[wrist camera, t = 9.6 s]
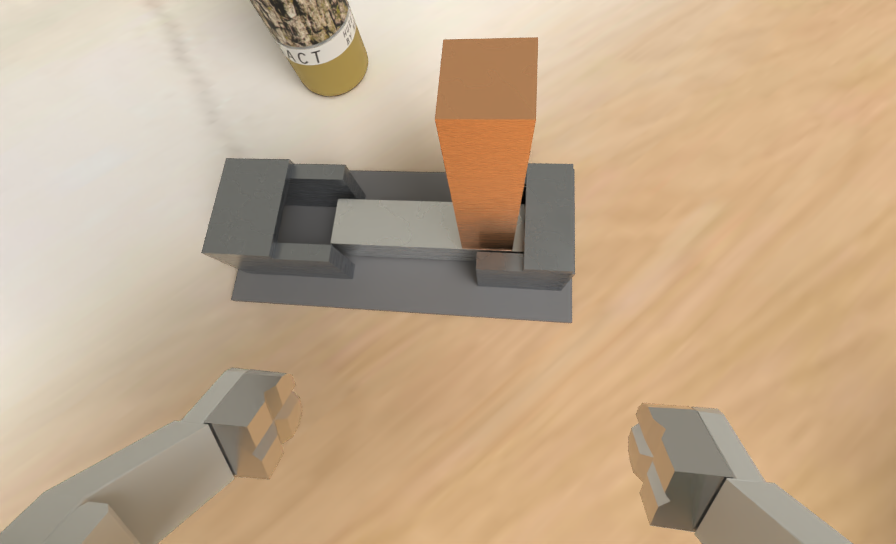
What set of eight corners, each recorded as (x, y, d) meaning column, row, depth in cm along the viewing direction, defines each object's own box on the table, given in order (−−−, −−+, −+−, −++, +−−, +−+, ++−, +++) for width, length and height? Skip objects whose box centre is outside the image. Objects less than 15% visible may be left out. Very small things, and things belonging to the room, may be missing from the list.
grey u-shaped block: (248, 273, 31) (201, 252, 26) (267, 192, 33) (226, 158, 28) (352, 279, 30) (324, 259, 25) (365, 195, 32) (342, 160, 27)
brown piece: (344, 255, 31) (184, 119, 15) (351, 213, 32) (207, 44, 16) (533, 264, 29) (588, 120, 13) (534, 220, 30) (587, 35, 14)
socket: (478, 286, 29) (475, 266, 24) (483, 198, 31) (482, 162, 26) (560, 290, 28) (576, 271, 23) (561, 200, 30) (576, 164, 25)
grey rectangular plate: (234, 300, 31) (231, 299, 31) (264, 171, 34) (261, 168, 34) (570, 323, 28) (572, 322, 28) (570, 177, 31) (571, 175, 31)
